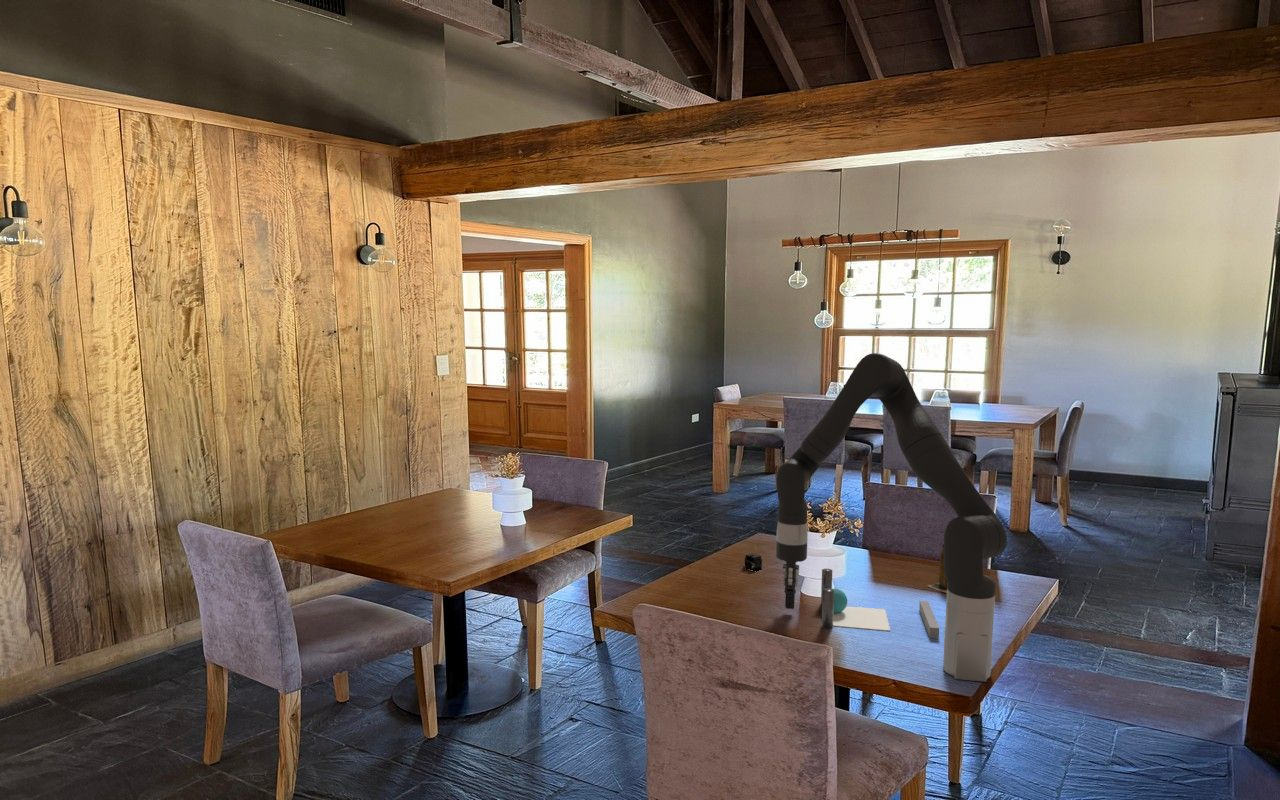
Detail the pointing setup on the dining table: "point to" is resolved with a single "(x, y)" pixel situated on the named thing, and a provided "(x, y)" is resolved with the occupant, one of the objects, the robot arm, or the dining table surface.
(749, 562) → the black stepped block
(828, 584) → the post back
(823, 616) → the post front
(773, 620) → the dining table surface
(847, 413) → the robot arm
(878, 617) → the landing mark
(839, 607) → the ball
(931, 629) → the wall
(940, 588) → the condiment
